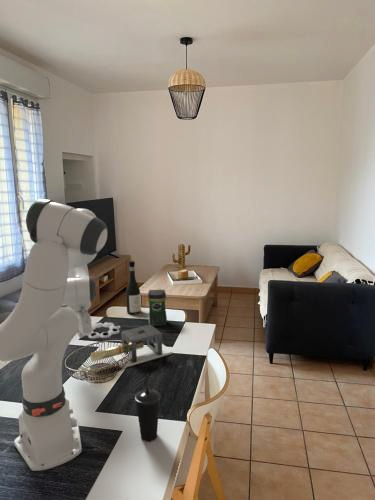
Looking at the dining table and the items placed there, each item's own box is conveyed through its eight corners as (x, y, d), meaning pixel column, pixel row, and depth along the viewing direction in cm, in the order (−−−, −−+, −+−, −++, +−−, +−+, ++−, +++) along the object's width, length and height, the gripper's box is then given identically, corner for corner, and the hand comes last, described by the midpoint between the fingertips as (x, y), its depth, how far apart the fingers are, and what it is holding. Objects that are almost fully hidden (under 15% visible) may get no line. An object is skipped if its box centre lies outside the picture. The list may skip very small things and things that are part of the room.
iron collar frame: (151, 344, 173) (150, 324, 171) (162, 354, 164) (161, 333, 162) (122, 352, 166) (121, 331, 164) (132, 363, 157) (131, 340, 155)
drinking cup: (140, 448, 110) (137, 386, 106) (133, 432, 117) (130, 373, 113) (165, 440, 113) (163, 380, 109) (156, 425, 120) (155, 367, 116)
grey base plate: (160, 344, 176) (160, 342, 176) (172, 353, 167) (172, 351, 167) (111, 357, 164) (111, 355, 164) (121, 368, 155) (121, 366, 154)
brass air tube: (140, 346, 166) (139, 338, 165) (143, 349, 163) (143, 341, 162) (91, 359, 155) (90, 351, 154) (93, 363, 152) (93, 354, 151)
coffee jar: (167, 320, 204) (166, 287, 200) (166, 326, 196) (165, 292, 192) (149, 320, 204) (148, 287, 200) (147, 326, 196) (146, 292, 192)
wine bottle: (143, 312, 215) (141, 261, 209) (130, 316, 211) (128, 263, 205) (137, 308, 222) (135, 259, 216) (124, 311, 217) (122, 261, 211)
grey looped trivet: (95, 321, 205) (94, 318, 204) (127, 325, 199) (127, 322, 198) (73, 336, 186) (73, 332, 186) (108, 341, 180) (108, 337, 180)
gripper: (95, 310, 139) (96, 344, 142) (79, 294, 156) (81, 325, 159) (78, 313, 136) (80, 348, 139) (64, 296, 153) (66, 328, 156)
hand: (80, 336), depth 149 cm, fingers closed
